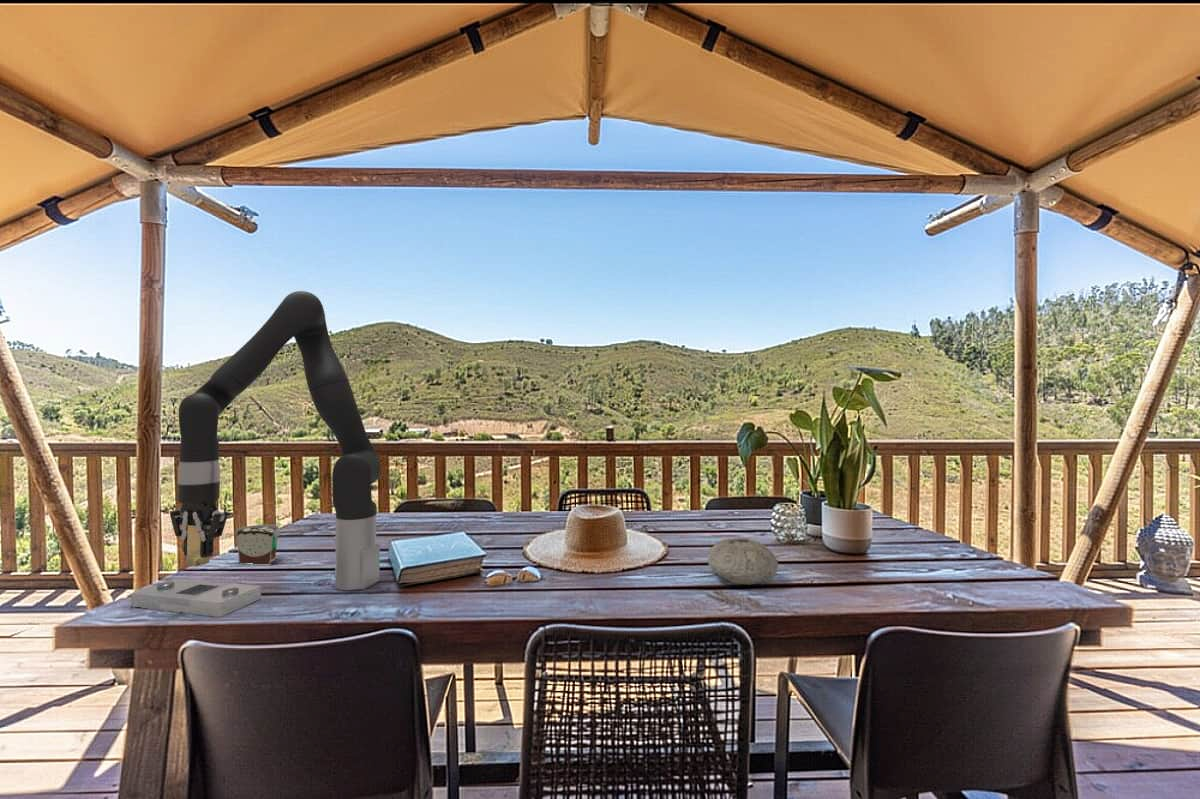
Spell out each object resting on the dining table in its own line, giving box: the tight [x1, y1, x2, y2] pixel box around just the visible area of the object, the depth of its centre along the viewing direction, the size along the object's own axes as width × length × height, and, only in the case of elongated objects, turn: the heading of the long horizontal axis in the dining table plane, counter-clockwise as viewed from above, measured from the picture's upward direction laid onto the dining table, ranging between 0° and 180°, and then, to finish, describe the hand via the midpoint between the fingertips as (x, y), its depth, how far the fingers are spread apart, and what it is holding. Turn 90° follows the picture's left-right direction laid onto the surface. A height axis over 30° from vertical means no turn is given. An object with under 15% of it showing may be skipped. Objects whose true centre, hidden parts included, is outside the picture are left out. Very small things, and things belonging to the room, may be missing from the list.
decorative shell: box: [707, 537, 779, 586], centre depth 131 cm, size 18×18×10 cm
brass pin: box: [186, 523, 211, 567], centre depth 113 cm, size 4×4×9 cm
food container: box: [234, 524, 282, 566], centre depth 142 cm, size 12×6×10 cm, turn 84°
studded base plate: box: [130, 577, 262, 618], centre depth 113 cm, size 24×10×4 cm, turn 79°
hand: (198, 555), depth 113 cm, fingers closed on brass pin, 4 cm apart
